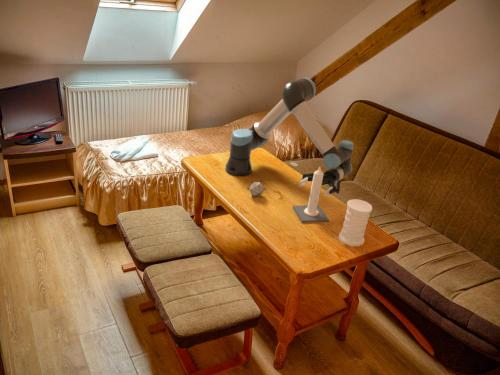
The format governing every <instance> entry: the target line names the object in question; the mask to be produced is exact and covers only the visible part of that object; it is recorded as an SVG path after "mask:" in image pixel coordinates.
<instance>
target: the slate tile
mask: <svg viewBox="0 0 500 375" xmlns="http://www.w3.org/2000/svg"><path fill="white" fill-rule="evenodd" d="M307 207H308V204H305V205H301V204H300V205H292V210H293V211H294V213H295V215H296V216H297V218H298V219H299V221H300V222H301V223H302V224H307V223H309V224H310V223H328V222H330V219H329V217H328V216H327V214H326V213H325V212H324V210H323V209H322V207H321V206H320V204H318V205H317V211H318V212H319V213H318V215H317V216H308V215H306V214H305V213H304V210H305V209H306V208H307Z"/></svg>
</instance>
